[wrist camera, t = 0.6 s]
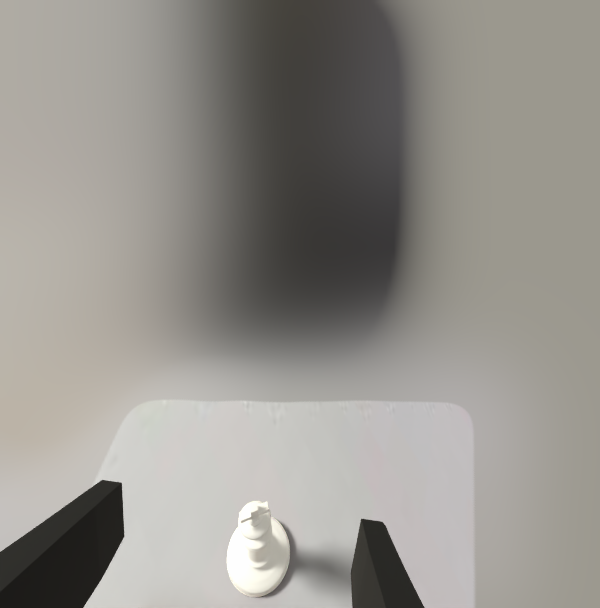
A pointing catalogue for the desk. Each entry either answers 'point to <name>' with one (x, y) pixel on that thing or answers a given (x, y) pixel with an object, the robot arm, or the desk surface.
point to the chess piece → (257, 551)
